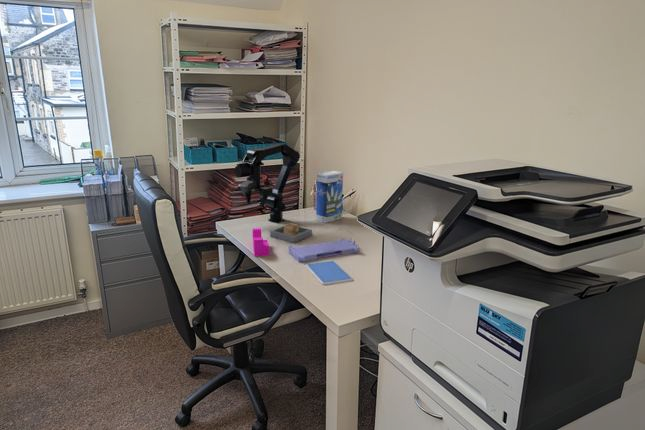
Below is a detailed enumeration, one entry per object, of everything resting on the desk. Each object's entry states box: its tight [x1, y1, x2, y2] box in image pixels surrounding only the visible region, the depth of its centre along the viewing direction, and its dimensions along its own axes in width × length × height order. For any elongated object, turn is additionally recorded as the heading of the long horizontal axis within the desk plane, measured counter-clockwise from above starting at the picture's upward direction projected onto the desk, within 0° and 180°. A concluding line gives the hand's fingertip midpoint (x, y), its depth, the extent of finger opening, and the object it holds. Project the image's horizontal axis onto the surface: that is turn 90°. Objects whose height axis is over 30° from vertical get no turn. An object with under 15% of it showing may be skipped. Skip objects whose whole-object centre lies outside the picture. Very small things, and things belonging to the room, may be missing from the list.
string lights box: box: [315, 170, 344, 224], centre depth 231 cm, size 13×8×26 cm, turn 136°
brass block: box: [283, 222, 300, 236], centre depth 206 cm, size 5×5×5 cm
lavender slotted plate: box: [288, 237, 360, 263], centre depth 188 cm, size 30×4×15 cm
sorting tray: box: [270, 225, 313, 244], centre depth 207 cm, size 14×14×3 cm
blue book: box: [305, 260, 354, 286], centre depth 168 cm, size 19×13×1 cm, turn 22°
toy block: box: [252, 227, 270, 257], centre depth 189 cm, size 15×6×8 cm, turn 11°
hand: (255, 205), depth 217 cm, fingers open, 9 cm apart
